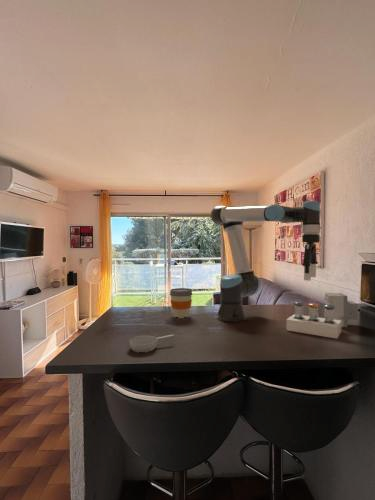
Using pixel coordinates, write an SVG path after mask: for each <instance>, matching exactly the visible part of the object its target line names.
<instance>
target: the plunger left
mask: <svg viewBox="0 0 375 500" xmlns="http://www.w3.org/2000/svg"><path fill="white" fill-rule="evenodd" d="M293 305H294V314H295V319H301V320H303V316H304V305H305V303H304V302H302V301H293Z"/></svg>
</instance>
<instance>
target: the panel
mask: <svg viewBox="0 0 375 500" xmlns="http://www.w3.org/2000/svg"><path fill="white" fill-rule="evenodd" d="M286 331H289V332H296V333H300V334H301V333H302V334H308V335H313V336H321V337H325V338H331V339H332V338H333V339H338V338H339V336H341V335H340V334H341V333H342V327H341V320H334V324H330V323H325V317H319V316H318V322H315V321H309V315H303V320H301V319H295V313H293V314H292V315H291V316H289V317H288V318H286Z"/></svg>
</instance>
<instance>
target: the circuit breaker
mask: <svg viewBox="0 0 375 500" xmlns="http://www.w3.org/2000/svg"><path fill="white" fill-rule="evenodd" d="M324 302H325V305H333V306H335V308H334V320H341V328H348V325H349V323H348V320H357V321H358V319H359V318H358V317H359V315H358V313H359V312H361V309H360V308H358V306H359V305H358V303H356V302H354V301H352V300H348V295H347V294H344V293H343V292H341V293H340V292H325V293H324Z"/></svg>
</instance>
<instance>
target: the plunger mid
mask: <svg viewBox="0 0 375 500" xmlns="http://www.w3.org/2000/svg"><path fill="white" fill-rule="evenodd" d="M319 305H320V304H319V303H315V302H313V303H312V302H310V303H308V316H309V321H315V322H318V317H319Z"/></svg>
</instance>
